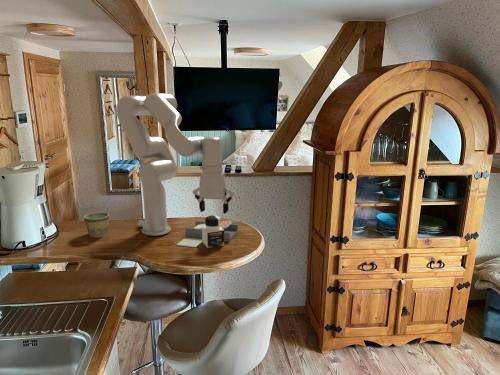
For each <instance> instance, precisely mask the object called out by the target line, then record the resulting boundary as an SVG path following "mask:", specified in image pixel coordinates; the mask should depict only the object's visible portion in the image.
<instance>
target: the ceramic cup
mask: <svg viewBox="0 0 500 375" xmlns="http://www.w3.org/2000/svg"><path fill="white" fill-rule="evenodd" d="M83 221H84V224H85V226H86V230H87V232H88V235H89V237H90V238H95V239H98V238H103V237H105V236H107V235H108V232H109V223H110V213H108V212H102V211H101V212H100V211H99V212H91V213H87V214H85V215H84V216H83Z"/></svg>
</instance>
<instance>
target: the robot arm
mask: <svg viewBox="0 0 500 375" xmlns="http://www.w3.org/2000/svg"><path fill="white" fill-rule="evenodd" d="M177 108H178V102H177V99H176V98H175V97H174V96H173V95H172V94H170V93H167V92H166V93H165V92H163V93H161V92H153V93H149V94H148V95H135V94H133V95H131V94H130V95H126V96H125V95H124V96H122V97H121V98H120V99H119V100H117V104H116V108H115V110H116V111H115V112H116V117H117V119H118V122H119V123H120V125H121V127H122V129H123V131H124V132H125V134H126V137H127V139H128V141H129V144H130V146H131V149H132V151H133V154H134V155H135V157H136V158H138V159H139V160H143V161H145V160H148V161H146V162H144V163H143V164H141V166H140V168H139V171H138V172H139V178H140V181H141V182H140V183H141V187H142V197H143V211H144V212H143V213H144V215H143V216H144V220H138V222H137V226H138V227H142V228H141V233H143V235H147V236H152V237H153V236H155V237H156V236H162V235H165V234H169V233H170V232H171V230H172V227H171V226H170V225H168V217H167V216H168V212H167V195H166V188H165V187H164V184H163V183H162V182H163V181H168V180H171V179H173V178H175V177H176V175H177V173H178V166H177V164H176V161H175V159H174V156H173V154H172V152H171V149H170V147H171V148H173V150H174V151H175V152H176V153H178V155H180V156H181V157H183V158H190V157H195V156H202V165H200V166H199V170H201V171H202V172H200V176H199V177H200V178H199V187H198V188H196V189H193V190H192V193H193V195H194V198H195V199H196V200H197V202H198V206H199V211H200V213H203V212H204V211H205V210H206V202H205V200H207V199H208V200H221V201H222V202H223V204H222V208H223V209H222V214H227V213H228V212H229V203H230V202H231V201H232V200H233V198H234V196H235V194H236V193H235V191H233V190H231V189H229V187H227V181H226V176H225V172H223V147H222V146H223V142H222V139H221V138H220V137H219V136H218V137H216V136H210V137H208V136H203V135H196V136H195V135H194V136H186V135H185V134H183V132H182V131H181V130H180V129H179V126H180V124H181V122H182V120H183V119H182V115H181V113H180V112H178V111H177ZM137 116H138V117H139V116H141V117H143V116H152V117H153V118H154V119H155V120H156V122H158V123H159V124H160V126H161V127H162V128H164V134H165V137H166V140H167V141H166V140H165V139H164V138H162V137H161V136H150V135H149V133H148V131H147V129H146V126H145V125H144V124H143V122H142V121H141V120H140V119H138V117H137ZM168 144H169V145H170V147H169V145H168ZM150 159H153V160H150ZM228 194H229V196H227V195H228Z"/></svg>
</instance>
